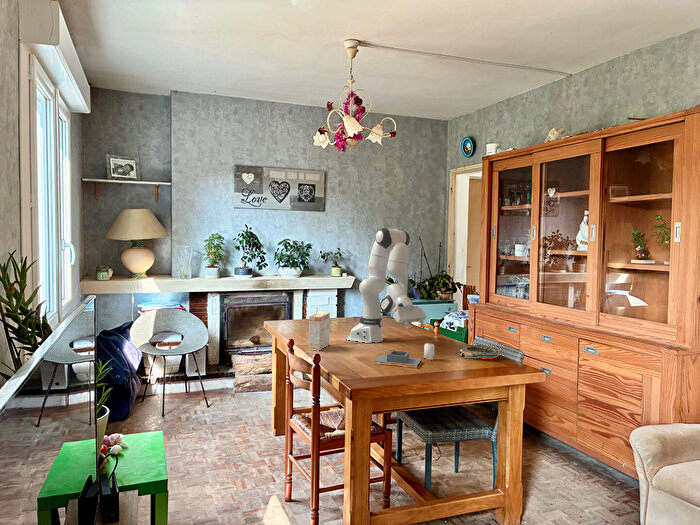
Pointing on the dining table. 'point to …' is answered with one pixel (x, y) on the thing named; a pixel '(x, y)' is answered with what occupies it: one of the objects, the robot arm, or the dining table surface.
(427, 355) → the paper roll
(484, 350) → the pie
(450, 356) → the dining table surface
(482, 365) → the dining table surface
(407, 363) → the roll caddy
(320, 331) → the coffeecake box
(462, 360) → the dining table surface
